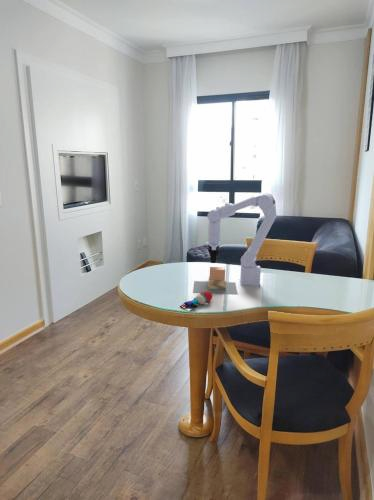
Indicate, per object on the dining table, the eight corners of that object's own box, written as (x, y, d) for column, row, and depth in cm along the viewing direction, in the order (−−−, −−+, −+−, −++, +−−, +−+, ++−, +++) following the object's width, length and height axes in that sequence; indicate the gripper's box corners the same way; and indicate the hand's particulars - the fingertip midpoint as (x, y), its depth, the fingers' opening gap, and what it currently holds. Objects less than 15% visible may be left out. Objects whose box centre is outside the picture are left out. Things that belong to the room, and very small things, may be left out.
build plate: (235, 283, 176) (235, 282, 176) (237, 295, 160) (237, 294, 160) (194, 281, 177) (194, 281, 177) (192, 293, 161) (192, 292, 161)
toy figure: (190, 316, 143) (217, 301, 151) (188, 305, 141) (216, 290, 149) (179, 311, 148) (206, 297, 157) (176, 300, 147) (204, 287, 155)
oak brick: (225, 284, 172) (225, 276, 171) (225, 289, 166) (226, 281, 165) (208, 284, 172) (208, 276, 171) (208, 288, 167) (208, 280, 166)
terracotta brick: (224, 277, 170) (224, 267, 169) (224, 280, 166) (225, 270, 165) (209, 277, 170) (209, 266, 169) (209, 279, 167) (209, 269, 165)
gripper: (206, 230, 184) (205, 256, 187) (205, 236, 170) (204, 264, 173) (220, 231, 183) (219, 256, 187) (220, 237, 169) (219, 264, 173)
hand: (213, 260), depth 180 cm, fingers open, 7 cm apart
